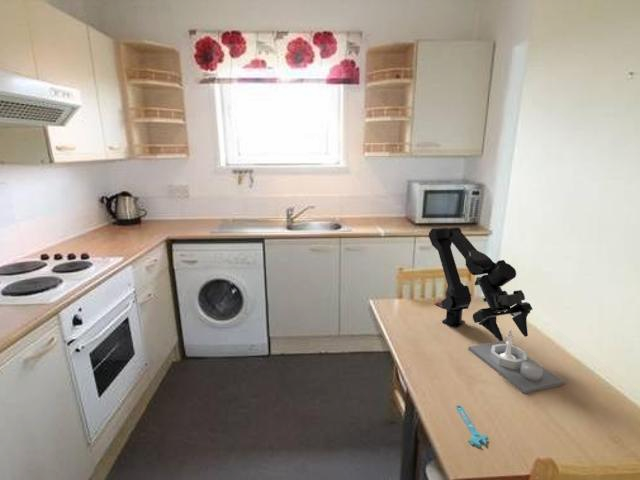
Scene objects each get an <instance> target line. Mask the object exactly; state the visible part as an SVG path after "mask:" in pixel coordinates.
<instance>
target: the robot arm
mask: <svg viewBox="0 0 640 480" xmlns="http://www.w3.org/2000/svg"><path fill="white" fill-rule="evenodd" d="M428 238H429V241H430V243H431V246H432V247H434V248H435V250H436V251H437V252H438V255H439V260H440V263H441V266H442V270H443V273H444V278H445V280H446V284H447V286H446V287H447V288H446V291H445V298H444V299H442V300H443V301H442V302H441V303H442V307H443V308H442V307H441V308H442V309H444V310H445V311H446V315H445V319H442V320H441V322H442V323H444V324H446V325H447V326H452V327H455V328H459V327H461V326H462V325H464V324H465V323H466V321H465V320H463V319H462V318H463V310H469V307H470V305H471V302H472V294H471V291H470V288H469V286H468V285H464V283H462V282H461V278H460V275H459V271H458V267H457V264H456V261H455V258H454V254H453V250H452V244H453V245H454V247H455V248H456V249H457V251H458V252H459V253H460V254H461V256H463V258H464V260H465V266H466V268H467V270H468V272H469V273H470V274H471V275H472V276H478V277H476V278H475V279H476V280H475V282H474V286H479V287H480V290H481V291H482V294H483V297H484V298H483V299H482V300H483V303H487V305H488V307H486V308H480V309H479V310H477V311H475V312H474V313H473V314H472V321H473V322H474V323H475V324H476V323H477V324H478V325H479V326H482V327H483V328H484V329H486V330H487V331H488V332H490V333H491V335H493V336H494V338H496V339H497V340H498V341H504V338H503V334H502V333H501V331H500V328H499V326H498V322H497V317H500V316H505V315H510V316H512V318H511V319H512V321H513V322H514V324H515V325H516V327H517V328H518V330H519V332H520V333H521V334H522V336H524V338H526V337H528V335H529V334H528V325H527V323H528V322H527V318H528V315H529V314H530V313H531V311H532V310H533V307H532V306H531V305H532V304H531V303H529V302H526V301H525V300H526V297H525V294H524V292H523V290H522V289H520V290H513V293H512V294H510V293H509V294H508V291H506V290H503V289H502V287H503V286H505V285H506V284H508V283H509V282H511V281H512V280H514V279H515V278H516V277H517V271H516V268H514V267H513V266H512V264H510V263H507V262H506V261H505V259H502V260H501V259H500V260H497V261H496V262H495V261H493V260H492V259H491V258H490V257H489V256H488V255H487V254H486V253H483V252H481V251H478V249H476V247H475V246H474V245H473V244H472V243H471V241H470V240H469V239H468V238H467V237H466V236H465V234H464V233H463V232H462V229H461V228H460V227H458V226H450V227H446V226H445V227H433V228H431V229H430V231H429V232H428ZM480 275H482V276H480ZM523 301H525V302H523Z"/></svg>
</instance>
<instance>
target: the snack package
mask: <svg viewBox="0 0 640 480" xmlns="http://www.w3.org/2000/svg"><path fill="white" fill-rule="evenodd" d="M443 300H444V299H441V300H438V301H437V302H435V303H434V304H435V305H436V306H438V307H440V308H442V309H444V308H443V307H442V303H441V302H442V301H443Z"/></svg>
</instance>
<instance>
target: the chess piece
mask: <svg viewBox="0 0 640 480" xmlns="http://www.w3.org/2000/svg"><path fill="white" fill-rule="evenodd" d="M514 338H515V337H514V335H513V330H512V329H511V330H509V331H508V334H507V335H506V339H507V340H506V341H505V342H506V344H507V348H506V352H505V353H501V354H500V356H501V357H504V358H508V359H512V360H516V358H515V356H513V355H512V354H511V345H512V346H514V342H513V341H514Z"/></svg>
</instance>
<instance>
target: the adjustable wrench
mask: <svg viewBox="0 0 640 480" xmlns="http://www.w3.org/2000/svg"><path fill="white" fill-rule="evenodd" d="M455 408H456V411H458V414H459V416H460V417H461V419H462V420H463V423H465V425H466V428H467V429H468V431H469V432H470V435H471V439H469V440H468V443H469V444H470V446H475V447H476V448H480V447H483V446H484V445H485V446H484V447H486V446H487V443H489V439H488V435H487V434H481V433H479V431H478V430H477V429H476V427H475V426H474V424H473V422H472V421H471V419H470V417H469V416H468V414H467V413H466V411H465V408H463V406H462V405H459V404H458V405H455ZM463 412H464V413H463ZM462 414H463V416H464V417H465V419H464V417H463V416H462ZM464 414H465V415H464ZM466 417H467V418H466Z"/></svg>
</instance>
